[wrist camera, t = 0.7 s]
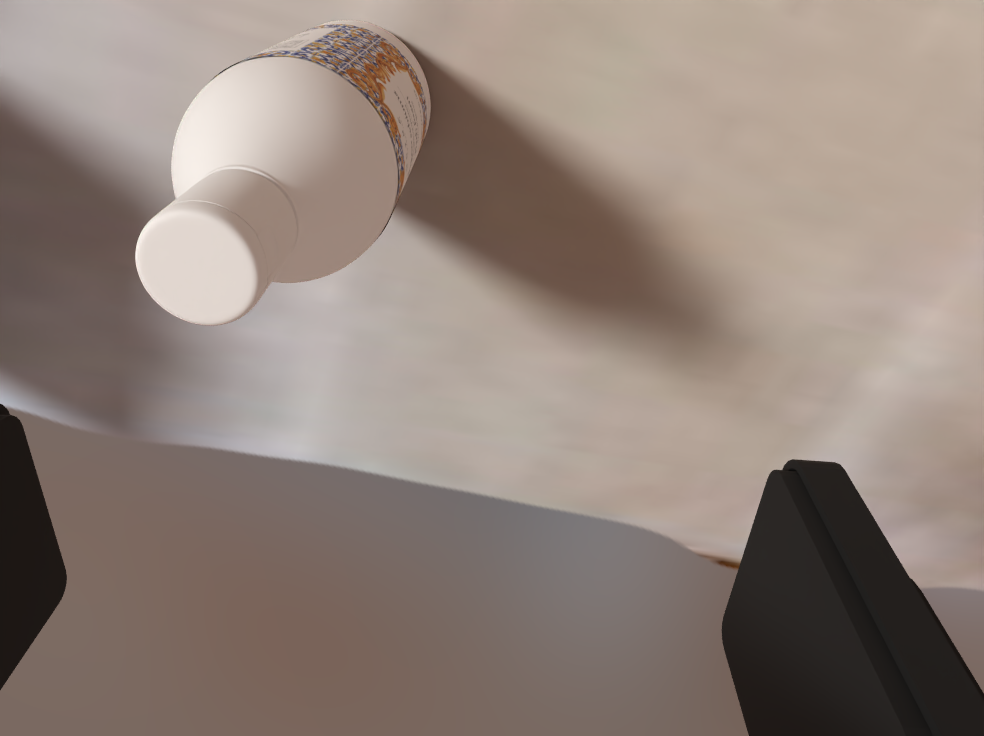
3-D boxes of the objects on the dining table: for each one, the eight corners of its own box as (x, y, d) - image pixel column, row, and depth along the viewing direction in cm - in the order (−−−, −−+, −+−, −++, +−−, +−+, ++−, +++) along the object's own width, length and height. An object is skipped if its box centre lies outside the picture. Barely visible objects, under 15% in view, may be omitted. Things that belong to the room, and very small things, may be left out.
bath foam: (440, 171, 36) (371, 393, 19) (297, 181, 36) (101, 407, 19) (422, 11, 33) (317, 102, 15) (265, 24, 33) (-11, 127, 16)
